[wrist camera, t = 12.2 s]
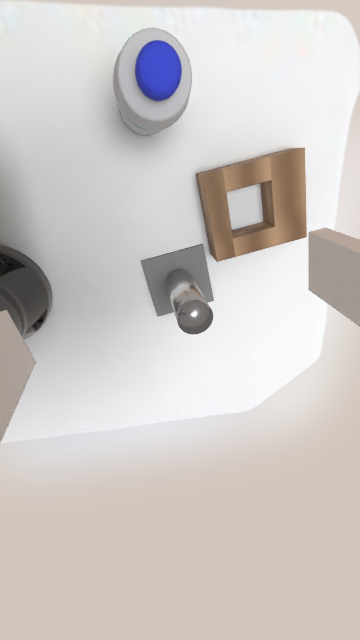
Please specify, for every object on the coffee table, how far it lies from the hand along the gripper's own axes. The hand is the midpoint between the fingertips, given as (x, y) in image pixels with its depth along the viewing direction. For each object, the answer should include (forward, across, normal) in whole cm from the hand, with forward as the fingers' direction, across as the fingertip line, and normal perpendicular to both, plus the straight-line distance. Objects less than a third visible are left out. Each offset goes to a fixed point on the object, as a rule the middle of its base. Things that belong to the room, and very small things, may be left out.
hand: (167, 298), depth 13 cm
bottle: (+35, +4, +10) cm, 37 cm away
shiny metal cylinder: (+34, +3, -14) cm, 37 cm away
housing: (+35, +16, -4) cm, 38 cm away
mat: (+35, +3, -14) cm, 37 cm away
